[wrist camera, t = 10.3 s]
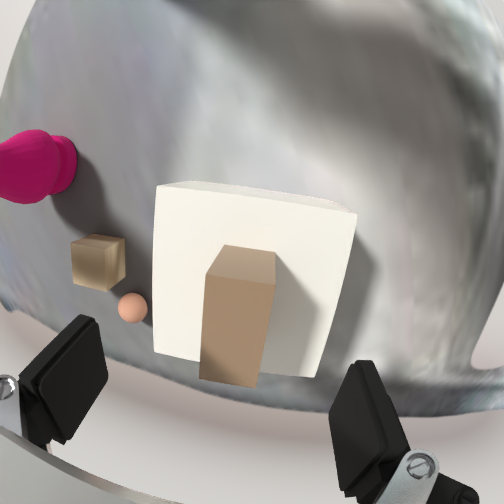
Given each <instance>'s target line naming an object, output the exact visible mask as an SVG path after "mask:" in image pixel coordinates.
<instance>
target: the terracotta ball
mask: <svg viewBox="0 0 504 504" xmlns="http://www.w3.org/2000/svg"><path fill="white" fill-rule="evenodd" d="M118 310H119V314H120V315H121V317H122V318H123V319H124V320H125V321H127V322H130V323H137V322H140V321H141V320H142V319H144V317H145V316H146V313H147V303H146V301H145V299H144V298H143V297H142V296H141V295H139V294H137V293H128V294H126V295H124V296H123V297H122V298H121V299H120V301H119V304H118Z"/></svg>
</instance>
